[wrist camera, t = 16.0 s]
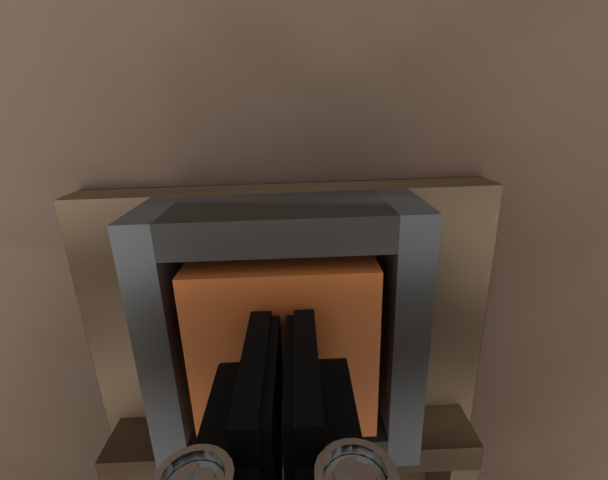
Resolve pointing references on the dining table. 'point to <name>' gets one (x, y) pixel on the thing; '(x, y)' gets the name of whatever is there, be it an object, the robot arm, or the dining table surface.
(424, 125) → the dining table surface
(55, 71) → the dining table surface
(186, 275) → the button
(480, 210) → the tray
